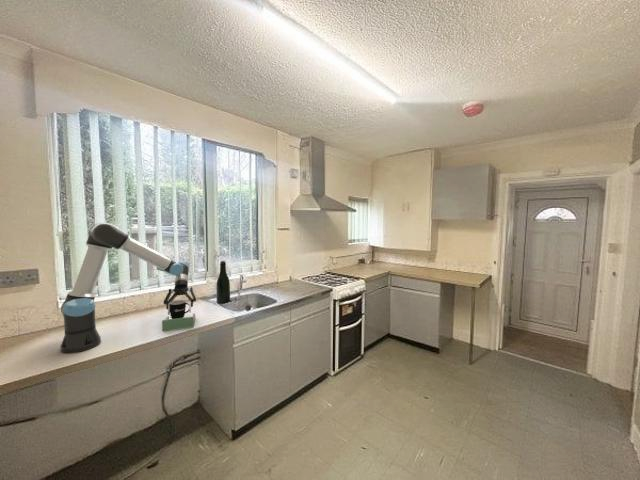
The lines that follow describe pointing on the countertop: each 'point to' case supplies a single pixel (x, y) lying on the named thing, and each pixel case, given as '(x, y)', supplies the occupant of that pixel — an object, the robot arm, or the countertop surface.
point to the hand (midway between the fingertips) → (179, 312)
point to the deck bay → (178, 323)
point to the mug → (177, 308)
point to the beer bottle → (223, 285)
